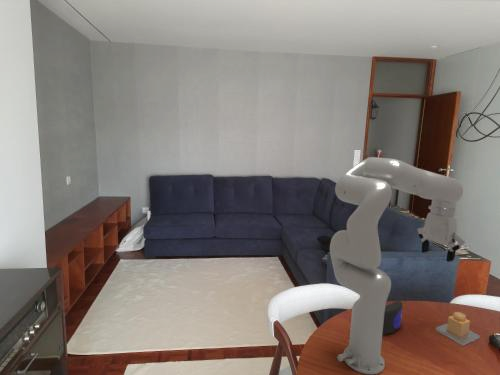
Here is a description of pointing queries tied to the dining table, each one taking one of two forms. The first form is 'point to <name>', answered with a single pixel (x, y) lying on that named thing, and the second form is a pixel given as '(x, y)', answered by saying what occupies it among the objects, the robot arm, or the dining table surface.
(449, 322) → the cube with dome knob
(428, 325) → the dining table surface
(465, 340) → the plate
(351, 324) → the robot arm
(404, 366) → the dining table surface
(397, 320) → the grey blue curved piece
